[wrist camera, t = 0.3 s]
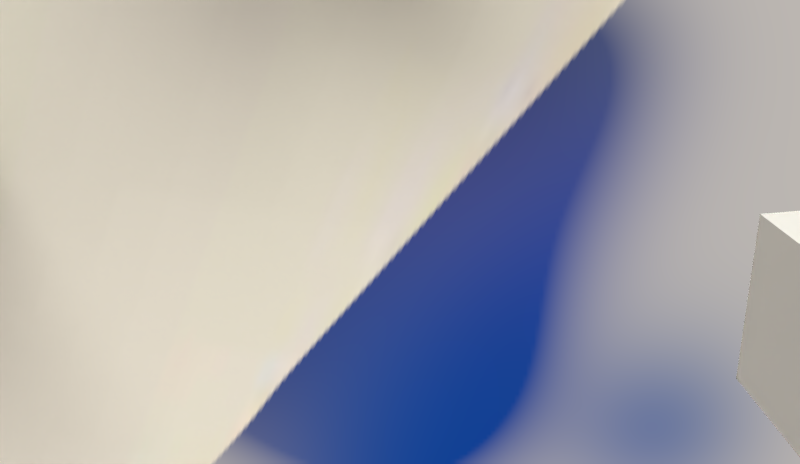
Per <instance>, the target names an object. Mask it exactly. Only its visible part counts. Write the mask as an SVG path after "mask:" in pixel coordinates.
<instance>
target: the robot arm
mask: <svg viewBox="0 0 800 464" xmlns="http://www.w3.org/2000/svg"><path fill="white" fill-rule="evenodd" d="M736 379H737V380H738V381H739V382H740V384H741V385H742V386H743V387H744V389H745V390H746V391H747V392H748V394H749V395H750V396H751V397H752V398H753V400H754V401H755V402H756V403H757V405H758V406H759V407H760V408H761V410H762V411H763V412H764V413H765V415H766V416H767V417H768V418H769V419H770V421H771V422H772V423H773V424H774V426H775V427H776V428H777V429H778V431H779V432H780V433H781V434H782V436H783V437H784V438H785V439H786V440H787V442H788V443H789V444H790V445H791V447H792V448H793V449H794V450H795V452H796V453H797V454H798V455H799V457H800V211H791V212H779V213H767V214H760V218H759V226H758V232H757V239H756V246H755V253H754V259H753V266H752V273H751V280H750V287H749V294H748V301H747V308H746V315H745V321H744V329H743V335H742V342H741V349H740V356H739V363H738V369H737V376H736Z"/></svg>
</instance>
